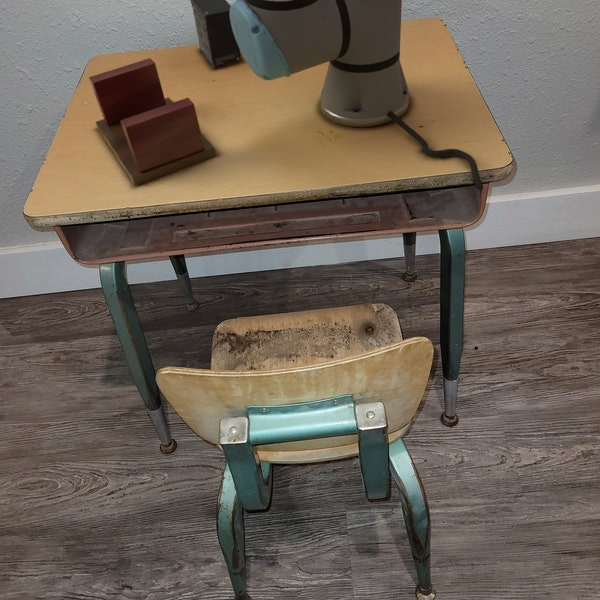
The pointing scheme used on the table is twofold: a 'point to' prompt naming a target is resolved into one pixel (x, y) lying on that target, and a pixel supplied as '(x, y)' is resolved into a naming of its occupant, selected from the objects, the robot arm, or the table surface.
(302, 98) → the table surface
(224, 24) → the small box
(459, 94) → the table surface
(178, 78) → the table surface
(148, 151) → the book stand
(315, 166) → the table surface
